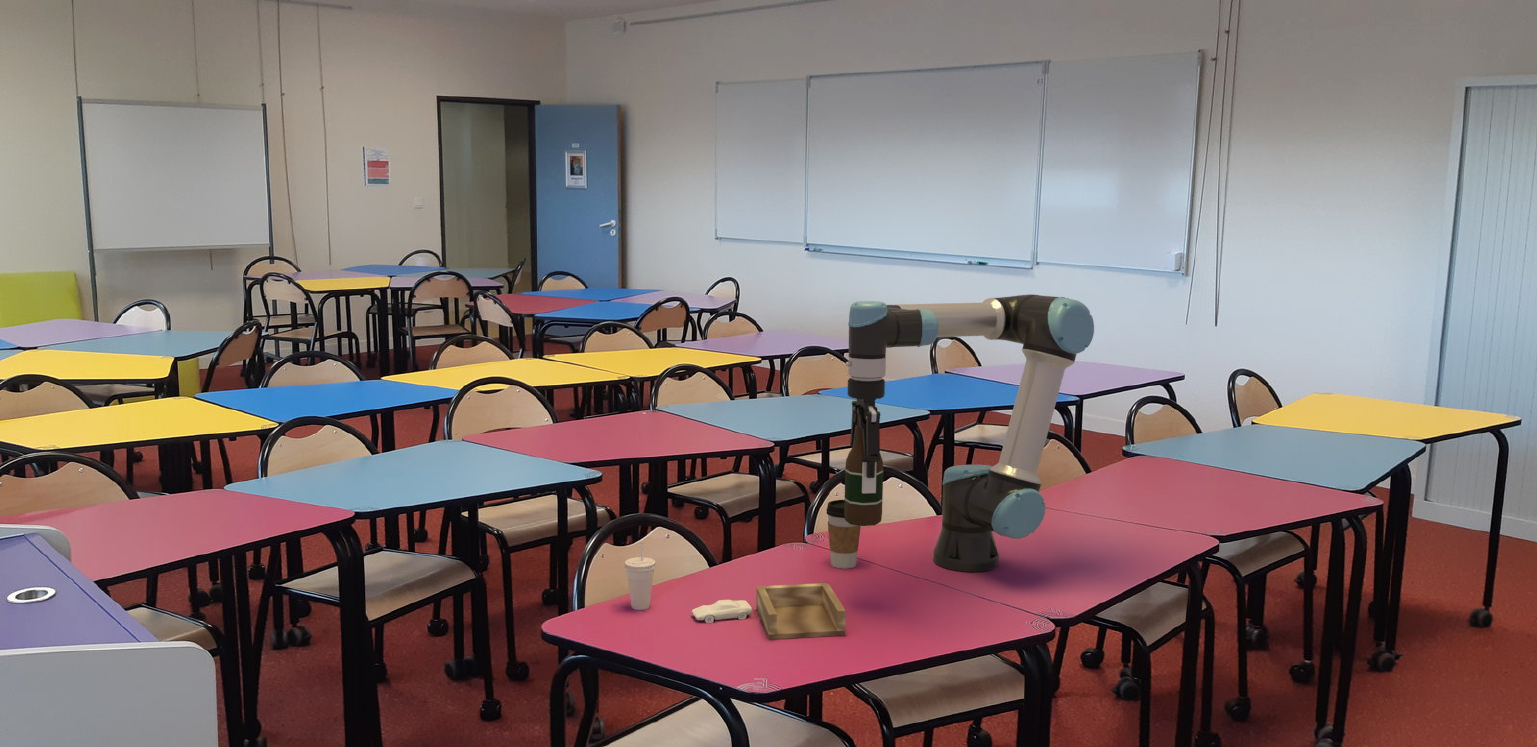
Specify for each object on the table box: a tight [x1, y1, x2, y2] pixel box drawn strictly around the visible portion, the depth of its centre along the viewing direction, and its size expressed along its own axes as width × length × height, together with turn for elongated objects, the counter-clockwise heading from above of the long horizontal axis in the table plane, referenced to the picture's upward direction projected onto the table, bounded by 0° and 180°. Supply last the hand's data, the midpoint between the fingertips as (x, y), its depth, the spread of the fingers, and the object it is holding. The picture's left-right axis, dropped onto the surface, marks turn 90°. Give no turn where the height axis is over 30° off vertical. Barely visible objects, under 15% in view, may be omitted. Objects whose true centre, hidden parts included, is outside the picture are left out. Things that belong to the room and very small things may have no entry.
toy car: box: [691, 599, 753, 624], centre depth 222 cm, size 6×12×3 cm, turn 108°
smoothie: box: [624, 539, 657, 611], centre depth 226 cm, size 6×6×14 cm
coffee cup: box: [826, 499, 862, 570], centre depth 254 cm, size 8×8×15 cm
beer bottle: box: [844, 411, 884, 527], centre depth 225 cm, size 8×8×24 cm
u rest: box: [755, 582, 847, 641], centre depth 219 cm, size 15×16×5 cm
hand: (863, 487), depth 225 cm, fingers closed on beer bottle, 7 cm apart
